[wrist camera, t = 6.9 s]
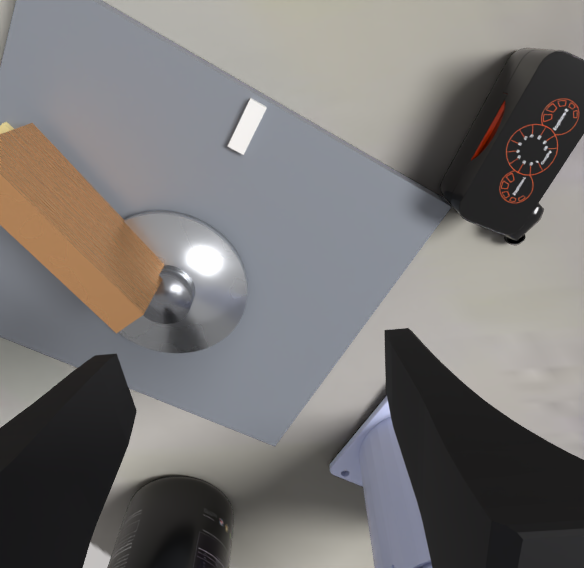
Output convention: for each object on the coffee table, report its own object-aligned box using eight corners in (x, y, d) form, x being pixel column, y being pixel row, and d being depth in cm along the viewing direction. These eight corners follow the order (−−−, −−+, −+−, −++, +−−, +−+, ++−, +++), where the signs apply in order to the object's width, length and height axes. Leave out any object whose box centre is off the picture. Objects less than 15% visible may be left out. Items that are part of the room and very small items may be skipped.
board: (443, 198, 21) (453, 209, 20) (275, 430, 28) (274, 450, 27) (41, -35, 17) (20, -40, 16) (-43, 300, 24) (-63, 316, 23)
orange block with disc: (278, 299, 22) (275, 355, 18) (167, 369, 24) (142, 433, 20) (87, 74, 18) (30, 86, 14) (-31, 183, 20) (-109, 220, 16)
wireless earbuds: (423, 206, 22) (442, 233, 19) (512, 42, 19) (551, 44, 16) (511, 240, 22) (542, 272, 20) (610, 88, 19) (665, 98, 16)
